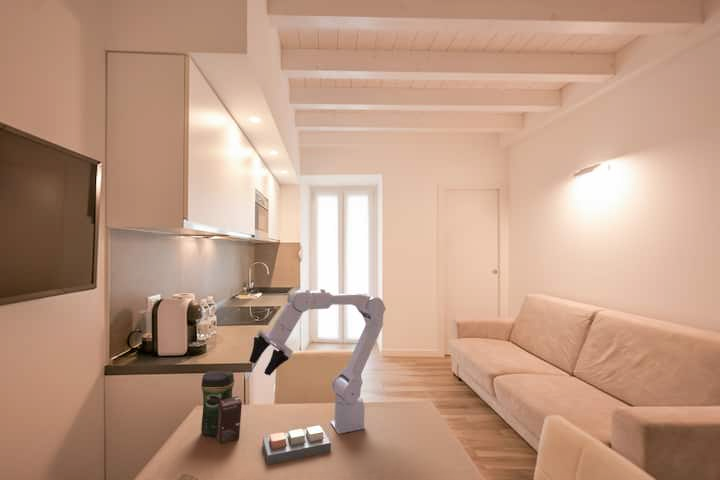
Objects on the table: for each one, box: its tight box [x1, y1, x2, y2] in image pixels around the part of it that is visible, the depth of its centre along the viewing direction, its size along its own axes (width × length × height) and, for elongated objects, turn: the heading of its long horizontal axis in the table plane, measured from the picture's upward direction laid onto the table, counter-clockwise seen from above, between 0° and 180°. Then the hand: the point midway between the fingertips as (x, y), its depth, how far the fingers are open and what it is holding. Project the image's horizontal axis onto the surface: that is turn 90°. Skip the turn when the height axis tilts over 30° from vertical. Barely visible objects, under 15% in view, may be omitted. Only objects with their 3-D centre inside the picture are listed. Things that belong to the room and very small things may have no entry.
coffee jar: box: [200, 370, 235, 436], centre depth 118 cm, size 10×8×19 cm
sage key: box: [288, 428, 305, 446], centre depth 109 cm, size 4×4×3 cm
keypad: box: [262, 426, 332, 465], centre depth 109 cm, size 18×10×2 cm, turn 112°
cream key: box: [306, 425, 323, 442], centre depth 111 cm, size 4×4×3 cm
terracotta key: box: [269, 431, 286, 449], centre depth 107 cm, size 4×4×3 cm
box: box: [216, 396, 243, 444], centre depth 113 cm, size 6×4×12 cm
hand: (259, 368), depth 109 cm, fingers open, 7 cm apart
